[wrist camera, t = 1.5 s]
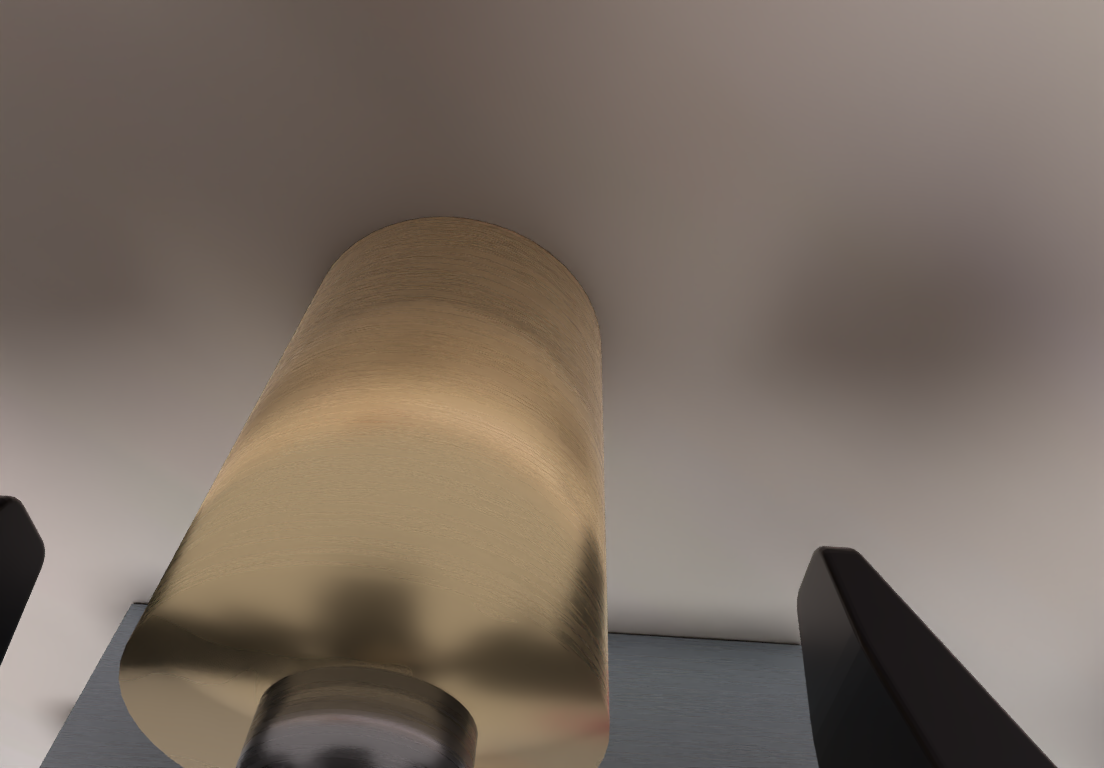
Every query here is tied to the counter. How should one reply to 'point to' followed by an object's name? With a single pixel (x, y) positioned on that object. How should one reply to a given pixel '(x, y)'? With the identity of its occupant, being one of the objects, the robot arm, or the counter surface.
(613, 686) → the gearbox
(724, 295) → the counter surface
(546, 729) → the beige cylinder
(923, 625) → the robot arm
